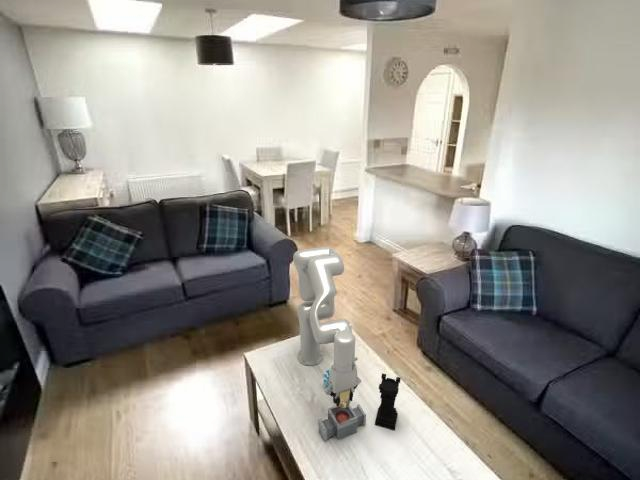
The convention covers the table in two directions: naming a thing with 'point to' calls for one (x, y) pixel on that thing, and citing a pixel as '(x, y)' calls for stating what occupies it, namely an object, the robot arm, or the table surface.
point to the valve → (341, 422)
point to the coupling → (344, 398)
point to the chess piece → (387, 403)
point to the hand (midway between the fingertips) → (343, 400)
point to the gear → (327, 378)
